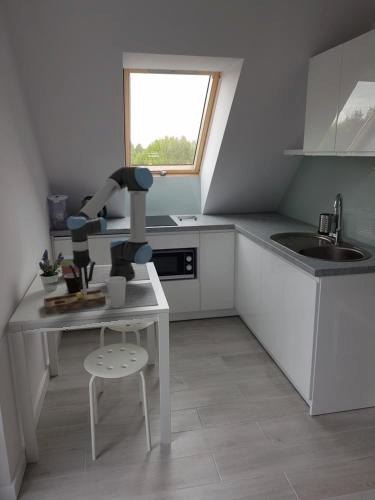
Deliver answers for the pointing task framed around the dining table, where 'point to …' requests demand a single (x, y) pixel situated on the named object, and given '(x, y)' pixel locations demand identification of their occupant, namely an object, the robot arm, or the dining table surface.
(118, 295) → the foam cup
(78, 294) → the ball
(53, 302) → the tray
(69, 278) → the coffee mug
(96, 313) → the dining table surface
